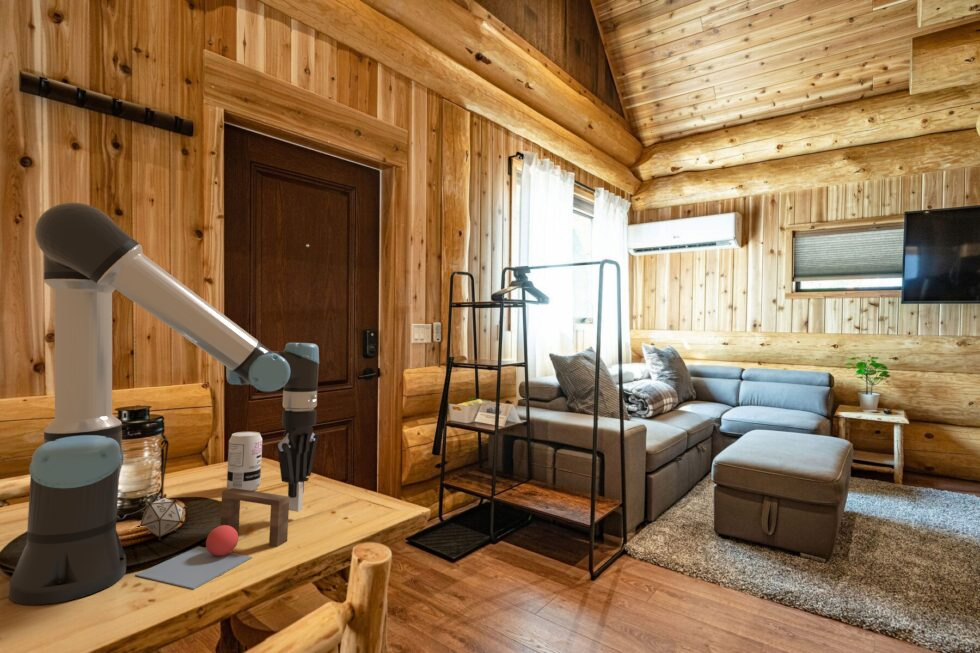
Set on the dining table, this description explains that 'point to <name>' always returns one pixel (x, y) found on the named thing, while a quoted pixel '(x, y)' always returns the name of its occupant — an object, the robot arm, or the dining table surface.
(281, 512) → the bridge
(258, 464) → the supplement can
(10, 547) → the dining table surface
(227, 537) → the ball
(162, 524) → the game die
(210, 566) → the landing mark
